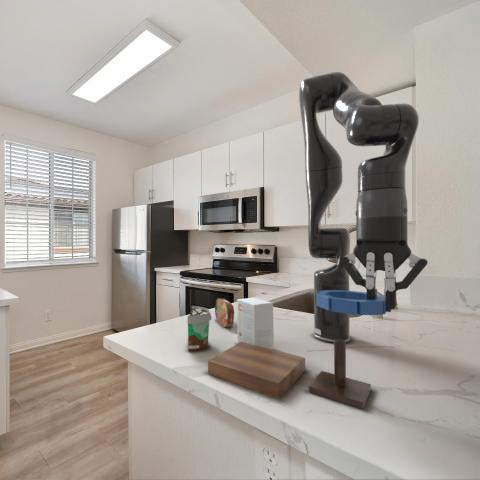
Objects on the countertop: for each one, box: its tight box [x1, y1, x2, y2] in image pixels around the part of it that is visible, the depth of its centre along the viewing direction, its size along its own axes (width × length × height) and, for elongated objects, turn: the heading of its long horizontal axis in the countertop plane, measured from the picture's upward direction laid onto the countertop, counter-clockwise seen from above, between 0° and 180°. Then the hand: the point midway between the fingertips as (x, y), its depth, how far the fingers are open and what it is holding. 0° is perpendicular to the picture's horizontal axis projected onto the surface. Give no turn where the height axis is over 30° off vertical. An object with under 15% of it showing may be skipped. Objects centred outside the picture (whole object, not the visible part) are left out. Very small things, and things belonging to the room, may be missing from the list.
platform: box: [207, 342, 306, 400], centre depth 68 cm, size 16×16×3 cm
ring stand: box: [308, 339, 372, 410], centre depth 60 cm, size 9×9×10 cm
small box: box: [236, 297, 275, 350], centre depth 83 cm, size 8×6×13 cm
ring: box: [316, 290, 387, 316], centre depth 58 cm, size 11×11×2 cm
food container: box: [187, 305, 212, 353], centre depth 85 cm, size 12×6×10 cm, turn 168°
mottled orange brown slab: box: [214, 297, 235, 328], centre depth 106 cm, size 15×3×8 cm, turn 5°
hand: (380, 309), depth 55 cm, fingers closed on ring, 1 cm apart
